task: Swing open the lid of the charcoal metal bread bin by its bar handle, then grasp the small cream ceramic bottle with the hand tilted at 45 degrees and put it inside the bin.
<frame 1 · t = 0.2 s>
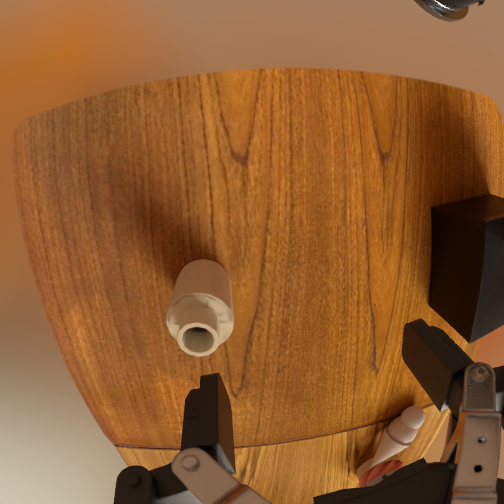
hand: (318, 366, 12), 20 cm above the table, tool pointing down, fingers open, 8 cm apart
cake: (376, 463, 50), on the table
bread bin: (462, 249, 34), on the table
bottle: (203, 284, 32), on the table
ice cream cone: (388, 427, 45), on the table
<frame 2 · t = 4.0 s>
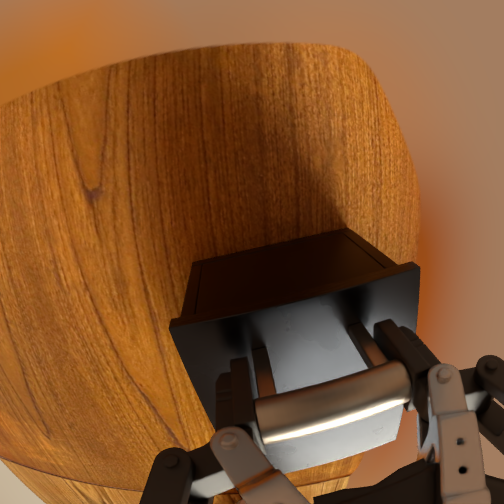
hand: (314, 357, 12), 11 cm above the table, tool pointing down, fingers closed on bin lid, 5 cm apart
bread bin: (286, 322, 24), on the table
bin lid: (325, 435, 13), point 12 cm above the table, hinge at -0.1°, touching gripper
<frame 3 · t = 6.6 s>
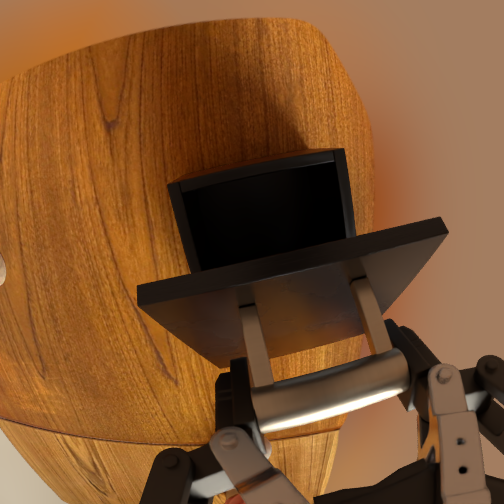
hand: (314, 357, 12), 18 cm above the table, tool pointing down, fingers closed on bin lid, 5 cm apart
cake: (251, 490, 44), on the table
bread bin: (262, 231, 29), on the table
bin lid: (308, 363, 15), point 16 cm above the table, hinge at 41.3°, touching gripper
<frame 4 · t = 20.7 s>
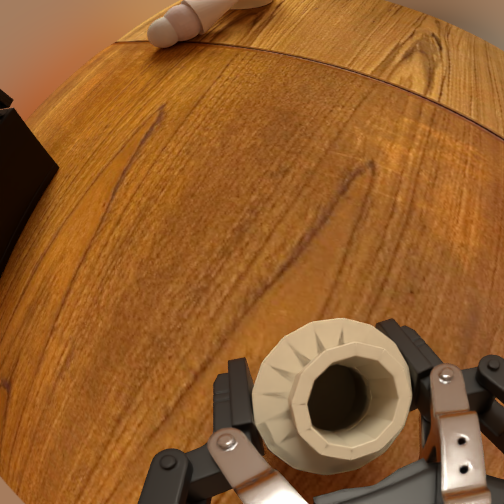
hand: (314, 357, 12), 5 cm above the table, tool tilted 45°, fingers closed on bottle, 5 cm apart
cake: (244, 1, 40), on the table
bottle: (311, 392, 16), on the table, touching gripper
ice cream cone: (202, 34, 34), on the table
when the fingers open (11 cm above the table, at t = 31.3 s): bottle drops 5 cm, resting on bread bin.
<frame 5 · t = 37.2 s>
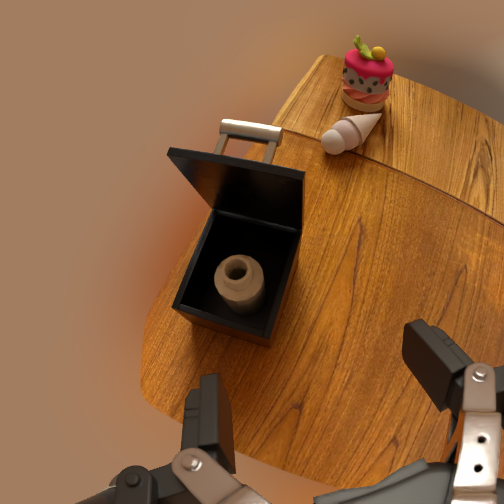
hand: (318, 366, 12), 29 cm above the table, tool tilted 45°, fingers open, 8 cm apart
cake: (362, 99, 59), on the table
bread bin: (245, 290, 43), on the table
bottle: (245, 295, 42), point 1 cm above the table, touching bread bin
bin lid: (253, 173, 31), point 17 cm above the table, hinge at 76.3°
ice cream cone: (351, 141, 54), on the table
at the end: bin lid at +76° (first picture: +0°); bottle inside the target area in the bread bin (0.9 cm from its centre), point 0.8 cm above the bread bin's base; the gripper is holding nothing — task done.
